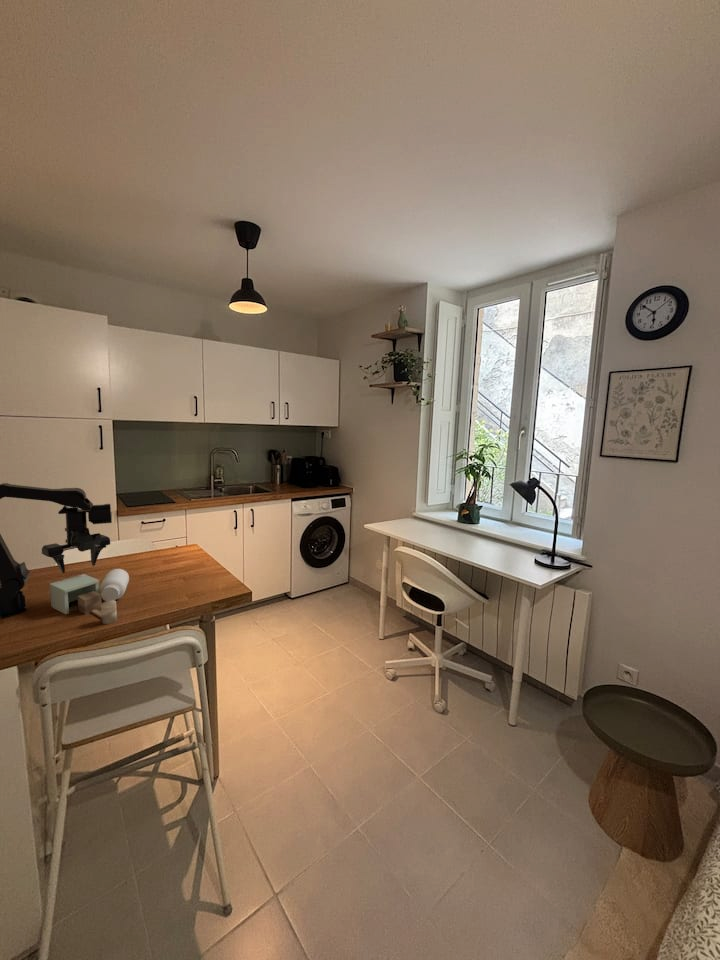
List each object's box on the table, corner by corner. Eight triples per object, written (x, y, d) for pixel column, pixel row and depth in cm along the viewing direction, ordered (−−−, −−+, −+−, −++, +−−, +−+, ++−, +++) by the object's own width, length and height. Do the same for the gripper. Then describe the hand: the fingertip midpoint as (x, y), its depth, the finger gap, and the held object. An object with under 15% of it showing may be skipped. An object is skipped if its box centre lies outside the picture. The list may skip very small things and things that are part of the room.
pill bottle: (105, 589, 148) (96, 606, 135) (104, 569, 147) (96, 584, 134) (129, 587, 152) (123, 603, 138) (129, 567, 151) (123, 581, 137)
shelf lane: (66, 614, 129) (64, 590, 128) (51, 607, 134) (49, 583, 133) (100, 602, 138) (99, 580, 137) (85, 595, 143) (83, 573, 142)
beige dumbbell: (104, 626, 123) (103, 607, 122) (78, 610, 132) (77, 593, 131) (121, 619, 127) (120, 602, 126) (94, 604, 136) (93, 588, 136)
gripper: (54, 535, 123) (57, 583, 125) (117, 524, 139) (119, 567, 141) (39, 528, 129) (42, 574, 131) (101, 519, 145) (103, 560, 147)
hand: (78, 569), depth 137 cm, fingers open, 9 cm apart
